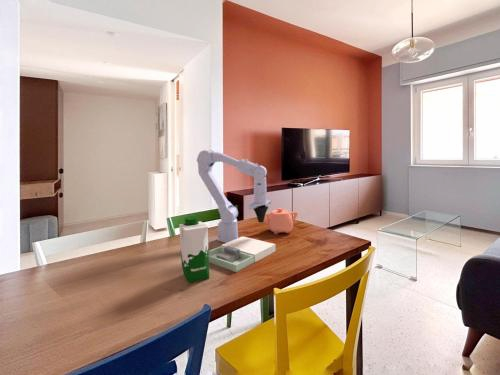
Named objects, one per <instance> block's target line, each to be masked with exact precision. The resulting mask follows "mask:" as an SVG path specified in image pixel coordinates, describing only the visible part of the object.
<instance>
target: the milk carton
mask: <svg viewBox="0 0 500 375" xmlns="http://www.w3.org/2000/svg"><path fill="white" fill-rule="evenodd" d="M184 219H185V220H184V221H185V222H184V223H181V224H179V225H178V226H179V243H180V256H181V257H180V258H181V259H180V260H181V267H182V273H183V276H184V277H185V279H186V281H187V282H188V284H191V283H195V282H200V281H202V280H203V281H204V280H207V279H208V280H209V279H210V263H209V251H210V250H209V231H208V230H209V226H207V225H206V224H205V223H204V222H203V221H198V217H197V216H188V217H185V218H184Z"/></svg>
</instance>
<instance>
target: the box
mask: <svg viewBox="0 0 500 375" xmlns="http://www.w3.org/2000/svg"><path fill="white" fill-rule="evenodd" d="M208 251H209V264H212V265H215V266H217V267H220V268H222V269H226V270H229V271H232V272H234V273H238V272H240V271H241V270H244V269H245V268H247V267H249V266H251V265H253V264H254V263H255V262H254V256H252V255H248V254H245V253H241V252H240V259H239V260H237V261H235V262H233V263H231V262H228V261H225V260H222V259H219V258H217V256H216V255H218V254H220V253H222V252H224V247H221V246H218V247H215V248H213V249H211V250H208Z"/></svg>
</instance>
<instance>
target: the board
mask: <svg viewBox="0 0 500 375" xmlns="http://www.w3.org/2000/svg"><path fill="white" fill-rule="evenodd" d="M227 246H230V247H233V248H237V249H240V252H241V253H245V254H248V255H252V256H254V263H256V262H258V261H260V260H262V259H264V258H266V257H268V256H269V255H271V254H273V253H275V252H276V250H277V249H276V243H272V242H268V241H263V240H259V239H255V238H250V237H246V236H240V237H238V239H235V240H233V241H230V242H228V243H225V242H224V243H223V244H221V247H224V248H225V247H227Z"/></svg>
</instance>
